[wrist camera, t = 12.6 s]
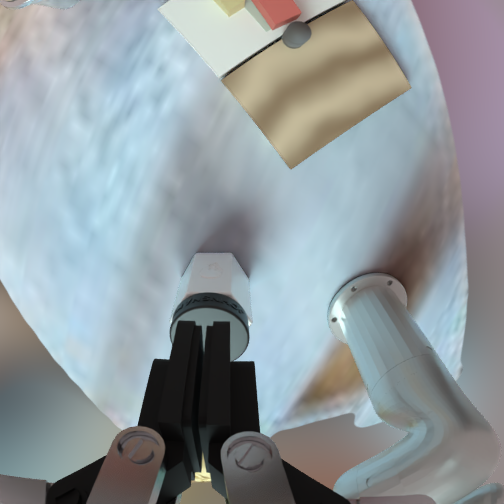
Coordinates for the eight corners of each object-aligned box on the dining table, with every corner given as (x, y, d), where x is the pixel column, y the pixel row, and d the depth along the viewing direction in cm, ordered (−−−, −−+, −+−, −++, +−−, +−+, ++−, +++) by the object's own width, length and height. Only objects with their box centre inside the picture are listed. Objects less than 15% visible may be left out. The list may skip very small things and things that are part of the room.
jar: (249, 250, 41) (254, 305, 30) (248, 304, 45) (253, 366, 34) (178, 250, 41) (159, 305, 30) (183, 304, 44) (170, 365, 33)
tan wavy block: (404, 87, 33) (426, 87, 28) (288, 166, 37) (296, 176, 32) (344, 0, 28) (360, -13, 23) (218, 77, 32) (215, 73, 27)
